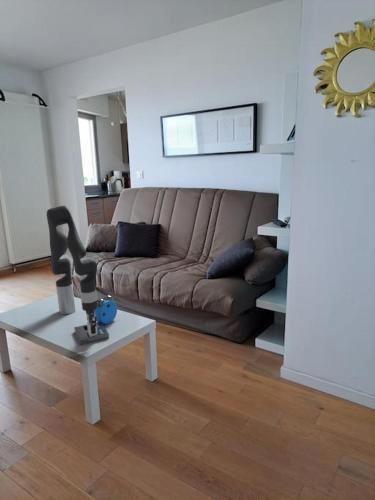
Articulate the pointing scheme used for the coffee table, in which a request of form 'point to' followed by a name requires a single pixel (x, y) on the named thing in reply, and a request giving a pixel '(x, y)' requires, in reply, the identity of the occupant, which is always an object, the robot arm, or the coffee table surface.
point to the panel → (84, 339)
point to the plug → (90, 330)
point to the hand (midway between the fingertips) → (92, 331)
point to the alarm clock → (106, 310)
